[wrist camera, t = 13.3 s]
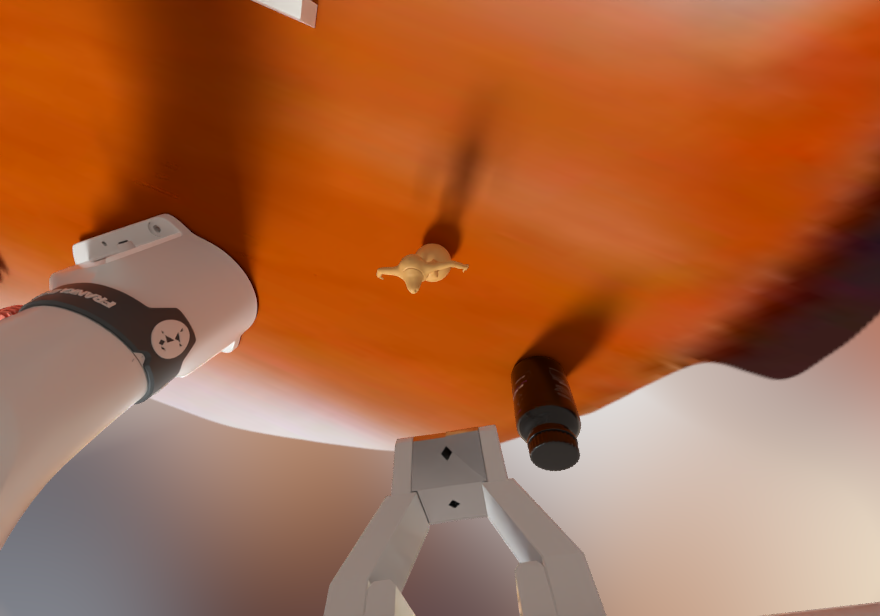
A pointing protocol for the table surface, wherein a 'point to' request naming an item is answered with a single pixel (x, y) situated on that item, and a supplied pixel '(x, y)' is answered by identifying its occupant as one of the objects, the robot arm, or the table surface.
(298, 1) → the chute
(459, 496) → the robot arm
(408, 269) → the figurine
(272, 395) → the table surface
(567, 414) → the supplement bottle
